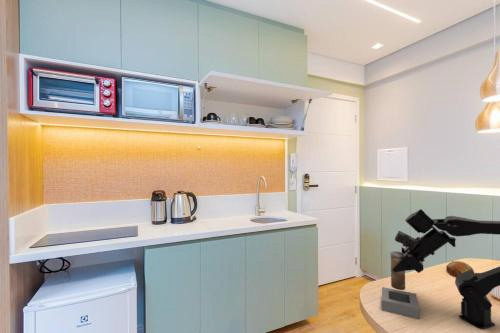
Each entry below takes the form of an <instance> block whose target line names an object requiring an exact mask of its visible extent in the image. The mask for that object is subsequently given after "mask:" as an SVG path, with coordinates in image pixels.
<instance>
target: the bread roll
mask: <svg viewBox="0 0 500 333" xmlns="http://www.w3.org/2000/svg"><path fill="white" fill-rule="evenodd" d="M445 269H446V272H447V274H448V275H450V276H452V277H454V278H456V277H458V276H459V273H464V272H466V271H468V270H470V269H472V270H473V272H474V273H475V270H474V269H473V267H472V266H471V265H469V264H468V263H466V262H464V261H459V260H452V261H450V262H449V263H448V264H447V265H446V268H445Z"/></svg>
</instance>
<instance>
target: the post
mask: <svg viewBox="0 0 500 333" xmlns="http://www.w3.org/2000/svg"><path fill="white" fill-rule="evenodd" d="M402 254H404V253H402V251H396V250H393V251H392V250H391V251H390V286H391V288H392V289H395V290H400V291H405V290H406V271H400V272H394V271H393V268H394V267H395V266H396V265H397V264H398V263H399V262H400V261H401V260H402Z"/></svg>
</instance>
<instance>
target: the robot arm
mask: <svg viewBox="0 0 500 333" xmlns="http://www.w3.org/2000/svg"><path fill="white" fill-rule="evenodd" d="M404 222H406V224H408V225H409V226H410V227H411V229H413V230H414V231H415V232H417V234H420V233H421V234H423V236H421V237H420V236H417V237H415V238H414V237H413V236H411V235H409V234H407V233H405V232H403V231H400V230H398V231H397V234H396V235H395V237H394V241H395V242H397V243H400V244H401V245H402V246H401V252H402V253H404V254H402V260H401V261H400V262H399V263H398V264H397V265H396V266H395V267H394V268H393V271H394V272H400V271H405V272H407V271H415V272H416V273H417V274H420V273H422V271H424V262H425V261H426V260H425V259H426V258H428V257H429V256H430V255H431V256H434V255H435V254H436V253H435V252H436V251H438V250H439V249H441V248H442V247H443V246H445V245H446V244H449V245H450V246H452V247H453V248H456V246H457V245H456V240H457V239H456V238H455V237H468V236H469V237H470V236H474V235H480V234H481V235H484V234H485V235H500V220H499V221H498V220H476V219H472V218H467V217H462V216H457V215H456V216H455V215H449V216H446V217H445V218H436V219H435V218H433V219H432V218H431V217H430V216H429V215H428V214H427V213H426V212H425V211H424V210H423V209H422V208H420V209H418V210H417V211H415V212H413V213H411V214H410V215H408V217H406V218H405V219H404ZM472 269H473V268H472ZM472 269H470V270H468V271H466V272H464V273H459V276H458V277H455V281H454V283H455V287H456V288H457V291H458V293H459V294H460V295H461V296H462V298H461V300H462V301H460V313H461V314H460V315H458V317H459V318H460V319H461V320H464V321H466V322H467V323H469V324H471V325H473V326H474V327H476V328H478V329H481V330H482V329H483V330H484V329H486V328H487V329H488V328H490V327H493V326H495V325H496V323H494V322H493V321H492V307H493V304H492V302H491V301H490V299H489V298H488V295H489V294H490V293H491V292H492V291H493V289H495V288H498V287H500V265H499V266H497V267H494V268H492V269H489V270H487V271H484V272H475V271H474V272H473V270H474V269H473V270H472Z"/></svg>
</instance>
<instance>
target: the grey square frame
mask: <svg viewBox="0 0 500 333" xmlns="http://www.w3.org/2000/svg"><path fill="white" fill-rule="evenodd" d="M417 297H418V296H417V294H416V293H413V292H409V291H405V290H398V289H395V288H389V287H384V286H382V287H381V311H384V312H389V313H393V314H396V315H400V316H405V317H409V318H414V319H416V320H417V319H418V320H420V306H419V301H418V298H417Z"/></svg>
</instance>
